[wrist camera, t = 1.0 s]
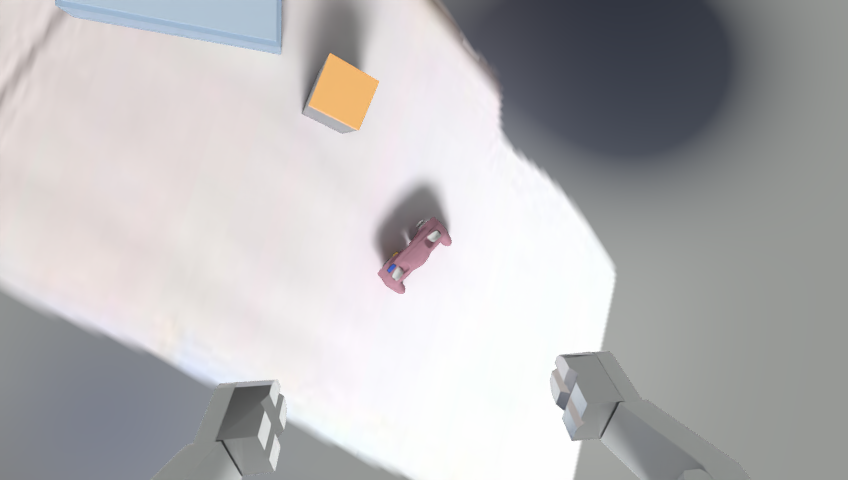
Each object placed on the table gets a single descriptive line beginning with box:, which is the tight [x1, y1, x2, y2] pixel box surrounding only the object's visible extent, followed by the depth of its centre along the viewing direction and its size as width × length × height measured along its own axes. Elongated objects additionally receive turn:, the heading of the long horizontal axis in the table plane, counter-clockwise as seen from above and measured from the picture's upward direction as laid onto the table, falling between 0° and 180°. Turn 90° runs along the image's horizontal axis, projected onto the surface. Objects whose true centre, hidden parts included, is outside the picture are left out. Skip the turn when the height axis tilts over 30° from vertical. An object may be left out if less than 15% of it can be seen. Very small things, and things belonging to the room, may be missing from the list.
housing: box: [302, 53, 379, 134], centre depth 35 cm, size 4×4×9 cm
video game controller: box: [378, 217, 452, 294], centre depth 44 cm, size 10×5×7 cm, turn 132°
